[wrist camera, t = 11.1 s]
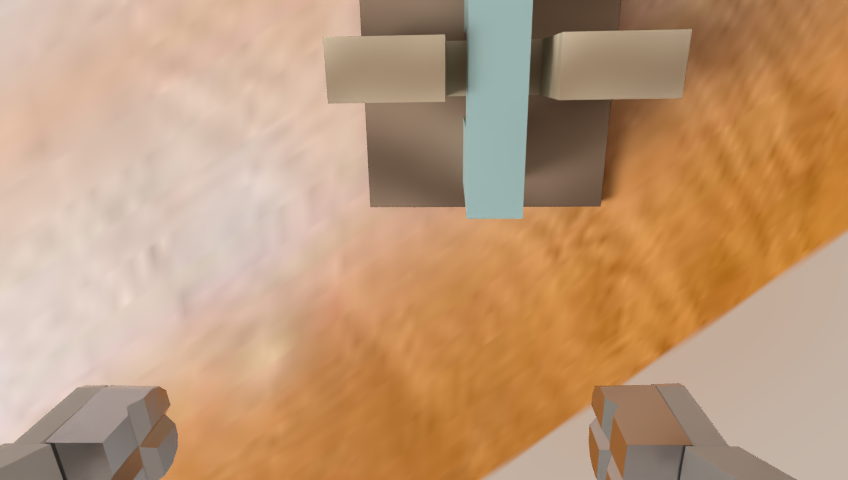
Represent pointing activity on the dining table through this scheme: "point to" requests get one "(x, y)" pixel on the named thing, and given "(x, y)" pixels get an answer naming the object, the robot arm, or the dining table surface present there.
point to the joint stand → (446, 95)
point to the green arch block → (496, 106)
